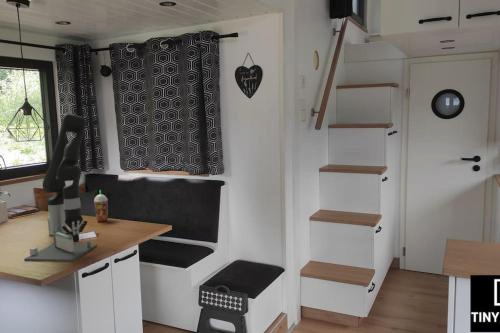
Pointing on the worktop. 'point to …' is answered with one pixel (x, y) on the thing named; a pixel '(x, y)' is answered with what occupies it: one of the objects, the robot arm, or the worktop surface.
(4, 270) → the worktop surface
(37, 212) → the worktop surface
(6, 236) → the worktop surface
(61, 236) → the gate
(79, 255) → the gate frame
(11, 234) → the worktop surface
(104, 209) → the smoothie
